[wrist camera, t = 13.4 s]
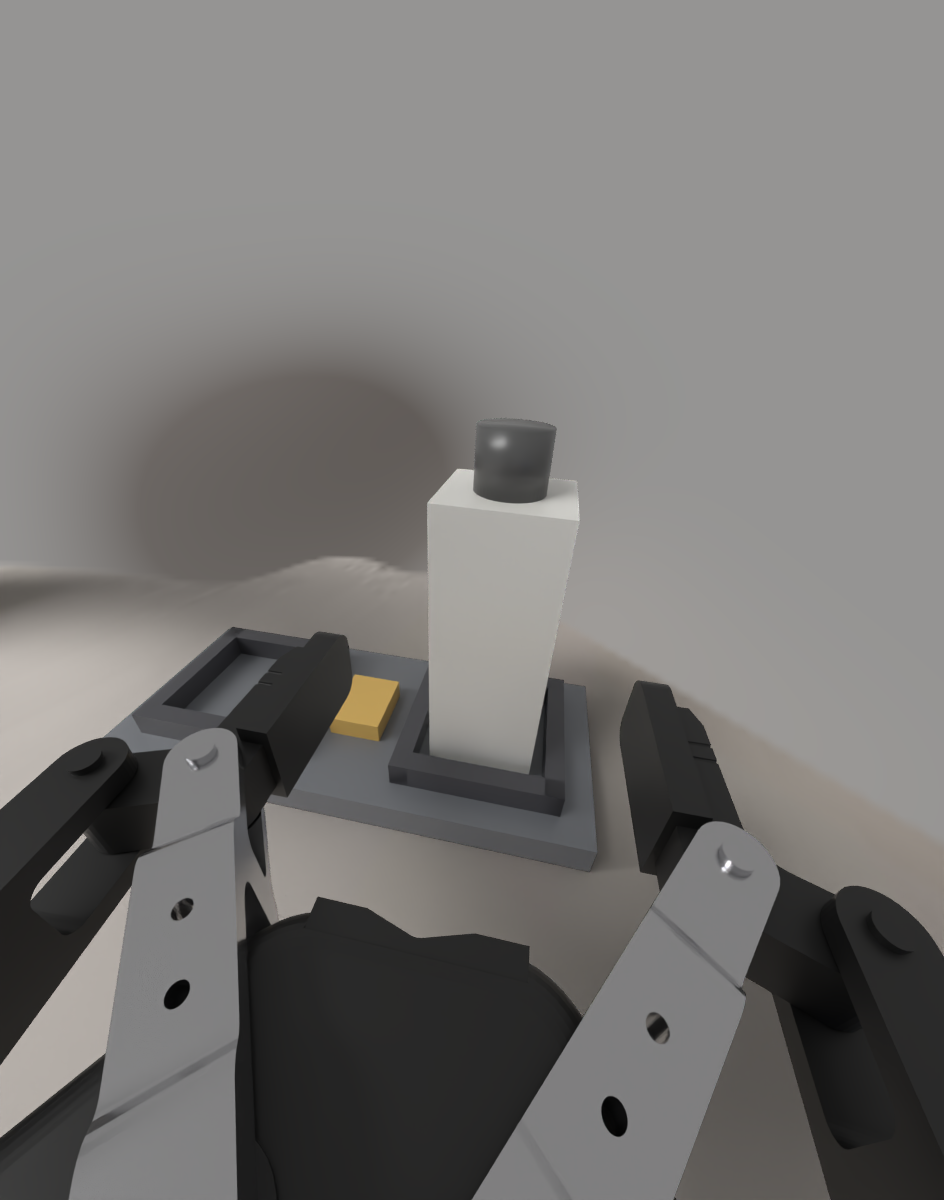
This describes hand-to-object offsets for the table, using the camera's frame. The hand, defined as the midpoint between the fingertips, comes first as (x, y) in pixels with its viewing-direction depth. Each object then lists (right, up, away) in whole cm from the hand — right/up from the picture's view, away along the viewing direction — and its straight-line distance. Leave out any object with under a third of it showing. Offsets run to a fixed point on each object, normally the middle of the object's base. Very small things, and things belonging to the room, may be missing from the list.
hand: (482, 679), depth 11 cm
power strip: (-6, -5, +10) cm, 12 cm away
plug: (0, -4, +8) cm, 9 cm away
